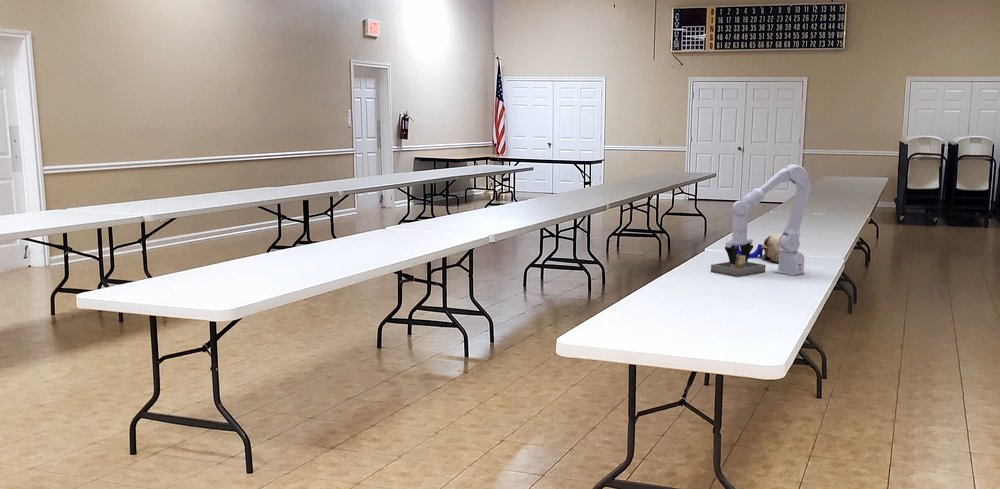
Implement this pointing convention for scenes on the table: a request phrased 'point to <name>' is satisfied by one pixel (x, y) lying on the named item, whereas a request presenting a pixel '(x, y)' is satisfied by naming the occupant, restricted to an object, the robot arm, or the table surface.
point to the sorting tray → (748, 270)
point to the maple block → (739, 262)
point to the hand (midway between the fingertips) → (738, 263)
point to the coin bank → (771, 247)
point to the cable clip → (755, 253)
